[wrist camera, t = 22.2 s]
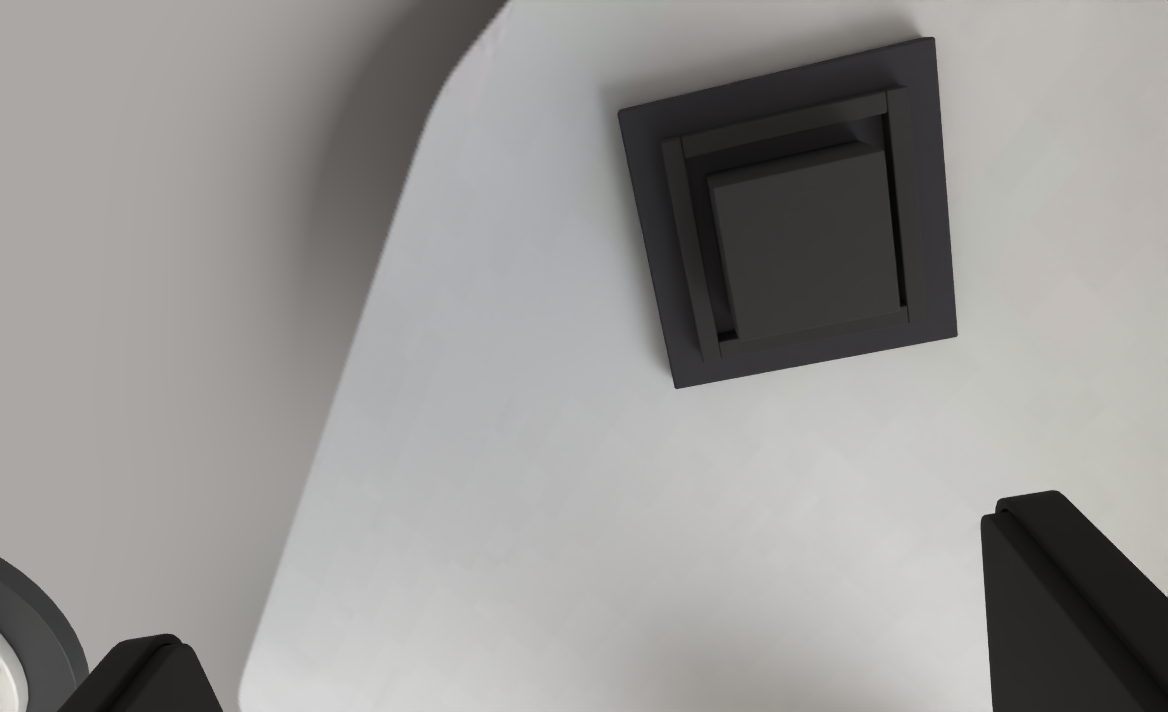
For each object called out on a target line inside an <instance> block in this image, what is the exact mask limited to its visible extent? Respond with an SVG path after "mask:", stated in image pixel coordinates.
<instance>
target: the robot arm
mask: <svg viewBox="0 0 1168 712" xmlns="http://www.w3.org/2000/svg"><path fill="white" fill-rule="evenodd" d="M981 541H982V556H983V572H984V587H985V602H986V617H987V632H988V647H989V662H990V677H991V692H992V706H993V712H1168V598H1167V597H1166V596H1165V595H1164V594H1163V593H1162V592H1161V591H1160V590H1159V589H1158V588H1157V587H1156V586H1155V585H1154V584H1153V583H1152V582H1151V581H1150V580H1149V579H1148V578H1147V577H1146V576H1145V575H1144V574H1143V573H1142V572H1141V571H1140V570H1139V569H1138V568H1137V567H1136V566H1135V565H1134V564H1133V563H1132V562H1131V561H1130V560H1129V559H1128V558H1127V557H1126V556H1125V555H1124V554H1123V553H1122V552H1121V551H1120V550H1119V549H1118V548H1117V547H1116V546H1115V545H1114V544H1113V543H1112V542H1111V541H1110V540H1109V539H1108V538H1107V537H1106V536H1105V535H1104V534H1103V533H1102V532H1100V531H1099V530H1098V529H1097V528H1096V527H1095V526H1094V525H1093V524H1092V523H1091V522H1090V521H1089V520H1088V519H1087V518H1086V517H1085V516H1084V515H1083V514H1082V513H1081V512H1080V511H1079V510H1078V509H1077V508H1076V507H1075V506H1074V505H1073V504H1072V503H1071V502H1070V501H1069V500H1068V499H1067V498H1066V497H1065V496H1064V495H1063V494H1061V493H1060V492H1059V491H1055V490H1050V491H1044V492H1038V493H1032V494H1026V495H1019V496H1013V497H1007V498H1001V499H1000V500H999V501H997V505H996V508H995V513H994V514H988V515H984V516H983V517H982V519H981ZM27 703H28V685H27V680H26V677H25V674H24V671H23V667H22V665H21V663H20V661H19V659H18V657H17V655H16V654H15V652H14V650H13V649H12V647H11V646H10V645H9V643H8V642H7V641H6V639H5V638H4V637H3V635H2V634H1V633H0V712H26V709H27ZM57 712H223V710H222V708H221V706H220V704H219V702H218V700H217V698H216V696H215V693H214V692H213V689H212V687H211V685H210V683H209V681H208V679H207V677H206V674H205V672H204V670H203V668H202V666H201V664H200V662H199V660H198V658H197V655H196V653H195V652H194V650H193V649H192V647H190V646H189V645H188V644H183V643H182V642H181V641H180V639H179V638H177V637H176V636H175V635H172V634H160V635H154V636H148V637H142V638H136V639H130V640H125V641H122V642H119V643H118V644H117V645H116V646H115V647H113V648H112V649H111V650H110V652H109V653H108V654H107V655H106V656H105V657H104V658H103V659H102V661H101V662H100V663H99V664H98V665H97V666H96V668H95V669H94V670H93V671H92V672H91V673H90V674H89V675H88V677H87V678H86V679H85V680H84V681H83V682H82V683H81V685H80V686H79V687H78V688H77V689H76V690H75V691H74V693H73V694H72V695H71V696H70V697H69V698H68V699H67V701H66V702H65V703H64V704H63V705H62V706H61V707H60V709H59V710H58V711H57Z"/></svg>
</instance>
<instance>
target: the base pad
mask: <svg viewBox="0 0 1168 712" xmlns="http://www.w3.org/2000/svg"><path fill="white" fill-rule="evenodd" d="M618 119H619V124H620V129H621V133H622V138H623V143H624V148H625V153H626V157H627V162H628V167H629V172H630V176H631V181H632V186H633V191H634V196H635V200H636V205H637V210H638V215H639V219H640V224H641V229H642V234H643V239H644V243H645V248H646V253H647V258H648V262H649V267H650V272H651V277H652V281H653V286H654V291H655V296H656V301H657V305H658V310H659V315H660V320H661V324H662V329H663V334H664V339H665V344H666V348H667V353H668V358H669V363H670V367H671V372H672V377H673V382H674V387H675V388H676V389H679V388H685V387H690V386H695V385H701V384H706V383H711V382H717V381H722V380H727V379H733V378H738V377H744V376H749V375H754V374H760V373H765V372H770V371H776V370H781V369H786V368H792V367H797V366H803V365H808V364H813V363H819V362H824V361H829V360H835V359H840V358H845V357H851V356H856V355H862V354H867V353H872V352H878V351H883V350H888V349H894V348H899V347H904V346H910V345H915V344H921V343H926V342H931V341H937V340H942V339H947V338H953V337H957V335H958V333H957V320H956V307H955V294H954V281H953V268H952V255H951V242H950V229H949V216H948V202H947V189H946V176H945V163H944V150H943V137H942V124H941V111H940V98H939V85H938V72H937V59H936V46H935V38H934V37H923V38H919V39H915V40H910V41H906V42H902V43H898V44H894V45H889V46H885V47H881V48H877V49H873V50H868V51H864V52H860V53H856V54H852V55H847V56H843V57H839V58H835V59H831V60H826V61H822V62H818V63H814V64H810V65H805V66H801V67H797V68H793V69H789V70H784V71H780V72H776V73H772V74H768V75H763V76H759V77H755V78H751V79H747V80H743V81H738V82H734V83H730V84H726V85H722V86H717V87H713V88H709V89H705V90H701V91H696V92H692V93H688V94H684V95H680V96H675V97H671V98H667V99H663V100H659V101H654V102H650V103H646V104H642V105H638V106H633V107H629V108H625V109H621V110H619V111H618ZM854 140H860V141H862V142H865V143H867V144H870V145H872V146H875V147H877V148H880V149H882V150H884V152H885V162H886V172H887V182H888V192H889V202H890V212H891V222H892V231H893V241H894V251H895V261H896V271H897V281H898V291H899V301H900V311H898V312H893V313H888V314H882V315H877V316H872V317H867V318H862V319H856V320H851V321H846V322H841V323H836V324H830V325H825V326H820V327H815V328H810V329H804V330H799V331H794V332H789V333H784V334H778V335H773V336H768V337H763V338H758V339H752V340H747V341H742V342H740V341H739V339H738V336H737V333H736V330H735V328H734V325H733V322H732V319H731V316H730V313H729V307H728V302H727V296H726V290H725V285H724V279H723V273H722V268H721V262H720V257H719V251H718V245H717V240H716V234H715V228H714V223H713V217H712V212H711V206H710V200H709V195H708V189H707V183H706V178H705V174H707V173H711V172H715V171H720V170H724V169H729V168H733V167H738V166H742V165H747V164H751V163H756V162H760V161H765V160H769V159H774V158H778V157H783V156H787V155H792V154H796V153H801V152H805V151H810V150H814V149H819V148H823V147H827V146H832V145H836V144H841V143H845V142H850V141H854Z"/></svg>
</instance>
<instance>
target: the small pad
mask: <svg viewBox="0 0 1168 712" xmlns="http://www.w3.org/2000/svg"><path fill="white" fill-rule="evenodd" d="M705 178H706V183H707V189H708V195H709V200H710V206H711V212H712V217H713V223H714V228H715V234H716V240H717V245H718V251H719V257H720V262H721V268H722V273H723V279H724V285H725V290H726V296H727V302H728V307H729V313H730V316H731V319H732V322H733V325H734V328H735V330H736V333H737V336H738V339H739V341H740V342H742V341H747V340H752V339H758V338H763V337H768V336H773V335H778V334H784V333H789V332H794V331H799V330H804V329H810V328H815V327H820V326H825V325H830V324H836V323H841V322H846V321H851V320H856V319H862V318H867V317H872V316H877V315H882V314H888V313H893V312H898V311H900V301H899V291H898V281H897V271H896V261H895V251H894V241H893V231H892V222H891V212H890V202H889V192H888V182H887V172H886V162H885V152H884V150H882V149H880V148H877V147H875V146H872V145H870V144H867V143H865V142H862V141H860V140H854V141H850V142H845V143H841V144H836V145H832V146H827V147H823V148H819V149H814V150H810V151H805V152H801V153H796V154H792V155H787V156H783V157H778V158H774V159H769V160H765V161H760V162H756V163H751V164H747V165H742V166H738V167H733V168H729V169H724V170H720V171H715V172H711V173H707V174H705Z"/></svg>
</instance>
